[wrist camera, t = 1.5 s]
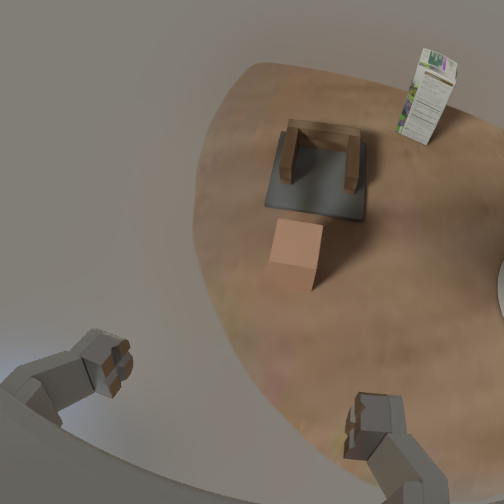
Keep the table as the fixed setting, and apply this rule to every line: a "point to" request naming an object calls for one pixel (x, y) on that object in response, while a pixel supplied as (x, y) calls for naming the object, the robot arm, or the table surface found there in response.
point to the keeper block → (295, 254)
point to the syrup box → (427, 96)
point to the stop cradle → (319, 170)
